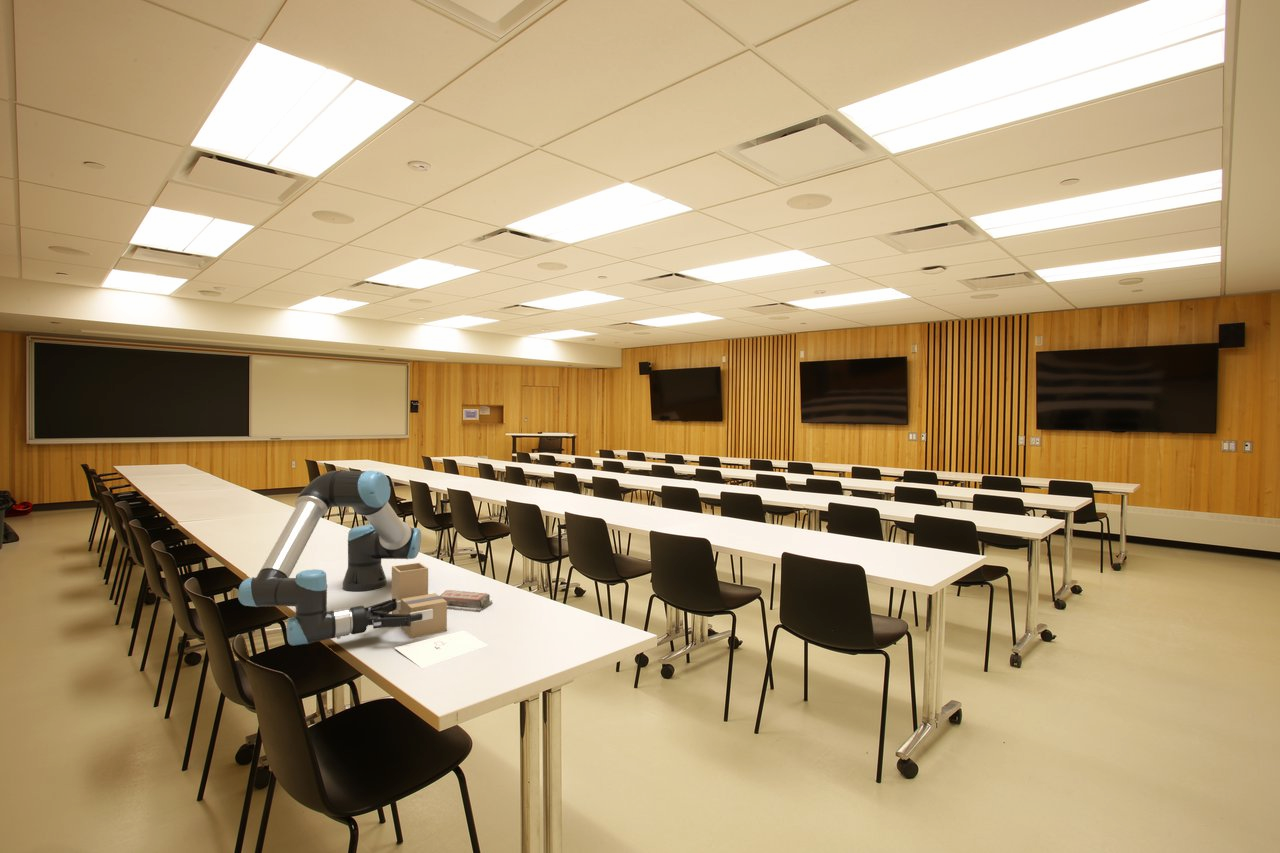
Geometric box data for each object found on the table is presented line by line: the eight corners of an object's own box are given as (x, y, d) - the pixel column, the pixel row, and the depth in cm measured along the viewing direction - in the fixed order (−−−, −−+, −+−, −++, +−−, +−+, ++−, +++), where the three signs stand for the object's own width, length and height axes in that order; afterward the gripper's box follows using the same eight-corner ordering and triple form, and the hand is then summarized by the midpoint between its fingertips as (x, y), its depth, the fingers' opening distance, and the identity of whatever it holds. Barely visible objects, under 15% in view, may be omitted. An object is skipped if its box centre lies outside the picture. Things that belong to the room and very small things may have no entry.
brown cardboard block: (400, 627, 184) (400, 598, 184) (435, 621, 191) (435, 592, 190) (410, 638, 176) (411, 607, 176) (446, 630, 182) (447, 601, 182)
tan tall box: (391, 614, 196) (391, 566, 196) (419, 609, 202) (419, 562, 201) (399, 622, 189) (399, 572, 189) (427, 617, 194) (428, 568, 194)
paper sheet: (472, 631, 183) (472, 627, 183) (515, 666, 160) (515, 662, 160) (392, 648, 168) (392, 644, 168) (427, 689, 146) (427, 685, 146)
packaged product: (493, 591, 209) (479, 599, 200) (493, 604, 209) (479, 613, 200) (447, 586, 214) (431, 594, 204) (447, 600, 214) (431, 608, 204)
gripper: (340, 622, 180) (412, 609, 193) (359, 648, 160) (438, 631, 173) (340, 597, 180) (413, 586, 193) (360, 620, 160) (439, 606, 173)
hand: (425, 607), depth 183 cm, fingers open, 13 cm apart
